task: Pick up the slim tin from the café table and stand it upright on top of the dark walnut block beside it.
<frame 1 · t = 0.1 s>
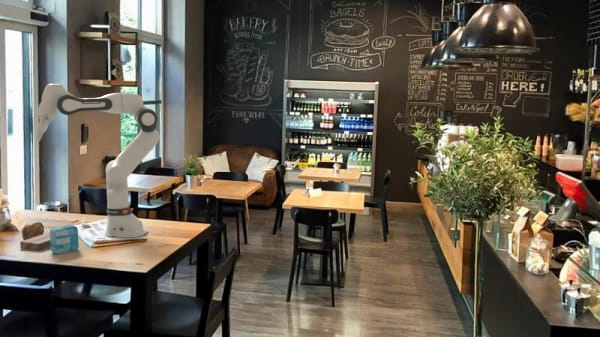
hand: (38, 139, 309), 52 cm above the table, tool tilted 20°, fingers open, 8 cm apart
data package: (65, 251, 294), on the table
tin: (33, 239, 315), on the table
walnut block: (45, 245, 306), on the table
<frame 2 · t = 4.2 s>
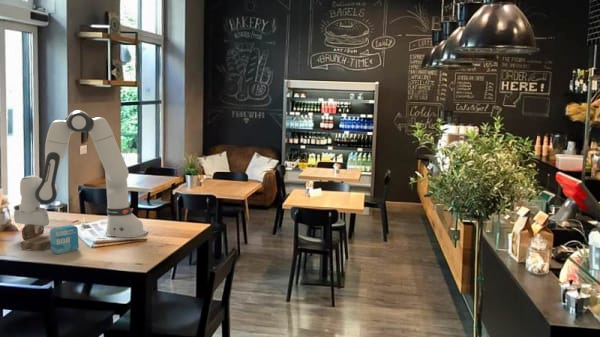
hand: (32, 232, 314), 4 cm above the table, tool pointing down, fingers closed on tin, 3 cm apart
tin: (33, 239, 315), on the table, touching gripper
everything else where it was.
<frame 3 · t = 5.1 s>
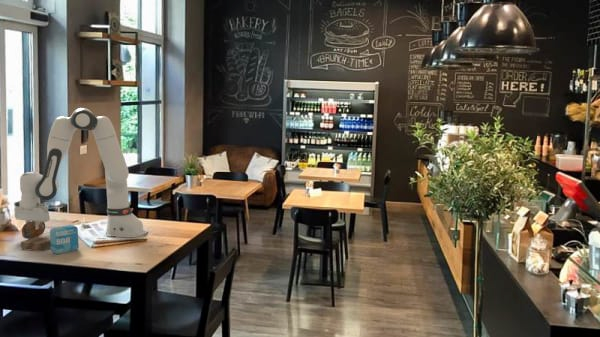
hand: (33, 229, 314), 6 cm above the table, tool pointing down, fingers closed on tin, 3 cm apart
tin: (33, 237, 315), point 1 cm above the table, touching gripper
everything else where it was.
when the fingers open (9 cm above the table, at t = 9.8 s): tin moves 1 cm, resting on walnut block.
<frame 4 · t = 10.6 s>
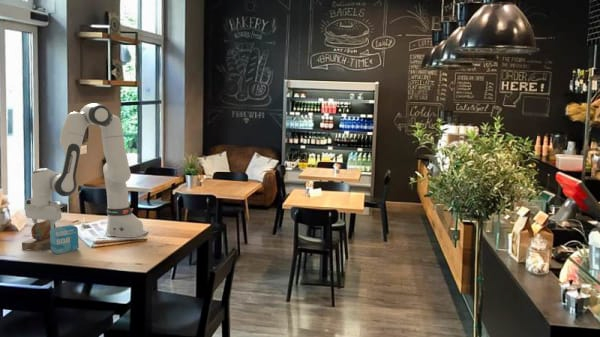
hand: (44, 227, 304), 9 cm above the table, tool pointing down, fingers open, 8 cm apart
tin: (43, 238, 306), point 3 cm above the table, touching walnut block
walnut block: (45, 245, 306), on the table, touching tin
everything else where it was.
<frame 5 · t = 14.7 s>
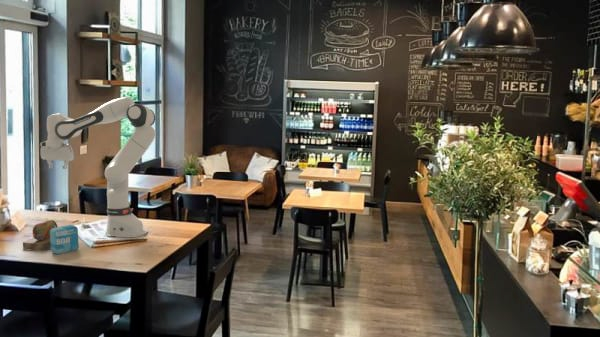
hand: (58, 168, 332), 34 cm above the table, tool pointing down, fingers open, 8 cm apart
tin: (45, 238, 305), point 3 cm above the table, touching walnut block
everything else where it was.
at the end: tin inside the target area on the walnut block (0.4 cm from its centre), point 3.8 cm above the walnut block's base; tin tilted 0°; the gripper is holding nothing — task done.
